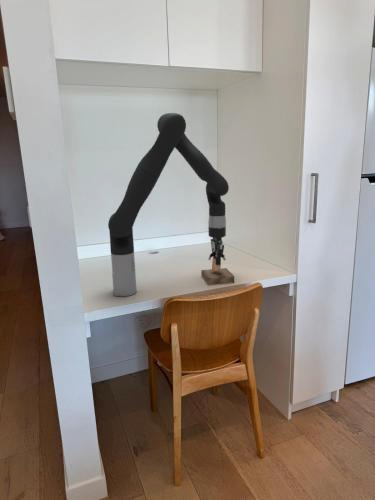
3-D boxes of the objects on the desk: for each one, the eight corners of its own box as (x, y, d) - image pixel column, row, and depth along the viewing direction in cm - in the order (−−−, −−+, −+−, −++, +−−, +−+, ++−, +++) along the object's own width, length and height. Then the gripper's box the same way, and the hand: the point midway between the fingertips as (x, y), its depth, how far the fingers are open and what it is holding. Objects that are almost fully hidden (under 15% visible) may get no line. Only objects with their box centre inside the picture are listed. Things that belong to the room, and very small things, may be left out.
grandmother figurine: (208, 272, 153) (208, 245, 149) (208, 270, 156) (208, 243, 153) (225, 272, 152) (226, 245, 149) (225, 270, 156) (225, 242, 153)
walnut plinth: (207, 285, 149) (207, 278, 148) (201, 276, 160) (201, 270, 159) (234, 282, 151) (234, 276, 150) (226, 274, 162) (226, 268, 161)
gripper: (204, 223, 155) (205, 260, 160) (212, 229, 142) (212, 269, 146) (220, 222, 156) (220, 258, 161) (230, 228, 143) (229, 267, 147)
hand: (217, 263), depth 153 cm, fingers closed on grandmother figurine, 3 cm apart
